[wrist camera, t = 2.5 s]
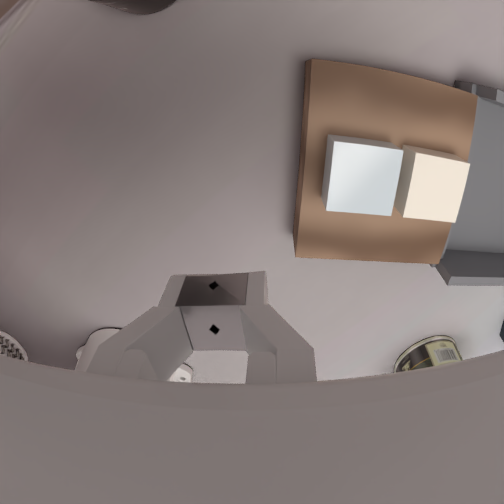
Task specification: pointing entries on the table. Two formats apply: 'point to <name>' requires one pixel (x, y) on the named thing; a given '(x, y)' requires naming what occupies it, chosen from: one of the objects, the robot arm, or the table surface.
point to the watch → (502, 332)
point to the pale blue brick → (360, 175)
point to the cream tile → (430, 184)
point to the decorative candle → (11, 347)
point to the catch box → (480, 200)
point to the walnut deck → (382, 129)
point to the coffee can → (428, 354)
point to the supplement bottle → (137, 5)
